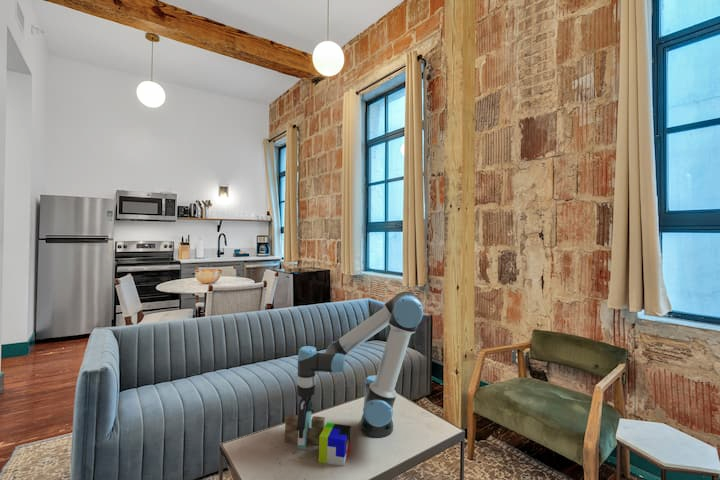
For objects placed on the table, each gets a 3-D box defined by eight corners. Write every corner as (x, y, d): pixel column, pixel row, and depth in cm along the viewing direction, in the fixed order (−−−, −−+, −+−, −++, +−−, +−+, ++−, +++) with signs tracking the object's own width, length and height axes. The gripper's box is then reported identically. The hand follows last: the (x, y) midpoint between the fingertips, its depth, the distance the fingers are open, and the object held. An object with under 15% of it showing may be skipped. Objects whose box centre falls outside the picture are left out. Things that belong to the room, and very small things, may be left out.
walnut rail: (323, 440, 147) (324, 417, 147) (322, 444, 144) (323, 420, 144) (286, 437, 148) (287, 414, 148) (284, 441, 145) (285, 418, 145)
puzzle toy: (343, 466, 132) (344, 440, 131) (318, 461, 134) (319, 436, 133) (349, 450, 141) (350, 425, 141) (326, 446, 143) (327, 422, 143)
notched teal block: (303, 433, 152) (304, 410, 152) (310, 434, 152) (311, 411, 152) (297, 448, 141) (298, 424, 141) (304, 449, 141) (305, 424, 141)
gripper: (303, 372, 158) (302, 420, 158) (289, 396, 134) (288, 452, 135) (320, 373, 158) (318, 421, 158) (308, 398, 134) (307, 454, 134)
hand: (304, 436), depth 146 cm, fingers open, 11 cm apart
